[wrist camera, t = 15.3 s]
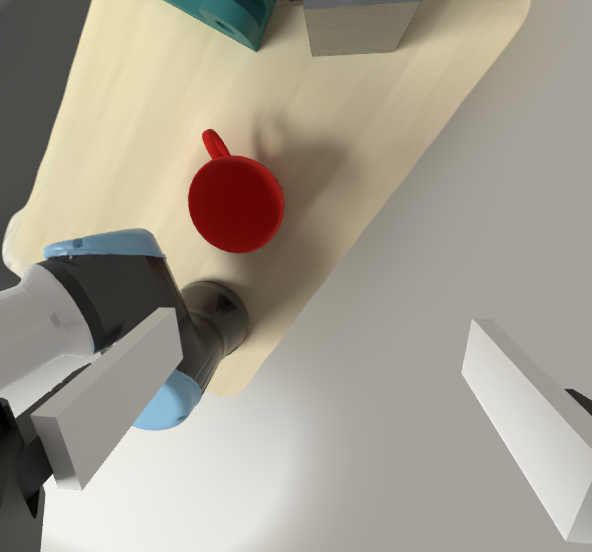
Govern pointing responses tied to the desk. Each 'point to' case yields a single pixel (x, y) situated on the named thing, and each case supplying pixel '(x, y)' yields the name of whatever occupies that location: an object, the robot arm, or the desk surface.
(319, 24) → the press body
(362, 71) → the desk surface
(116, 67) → the desk surface
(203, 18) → the bracket
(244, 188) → the ceramic cup
